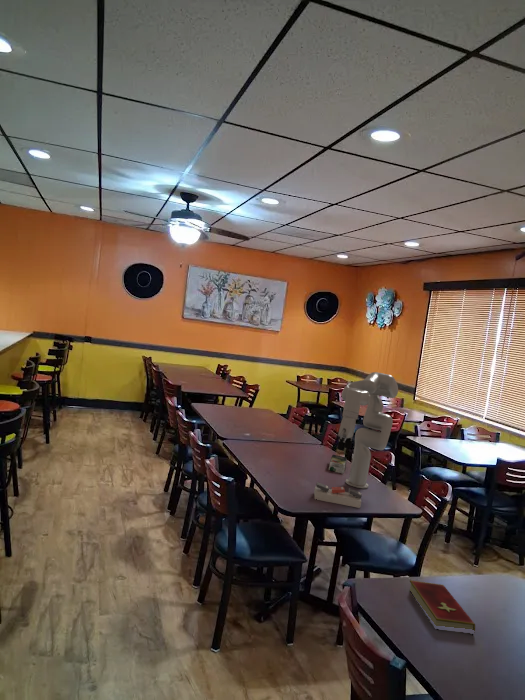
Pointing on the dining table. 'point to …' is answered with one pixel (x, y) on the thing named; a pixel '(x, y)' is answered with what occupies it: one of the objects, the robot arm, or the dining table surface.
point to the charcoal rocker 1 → (322, 486)
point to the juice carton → (338, 464)
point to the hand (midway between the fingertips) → (343, 448)
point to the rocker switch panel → (337, 497)
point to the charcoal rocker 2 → (355, 493)
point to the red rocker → (338, 490)
